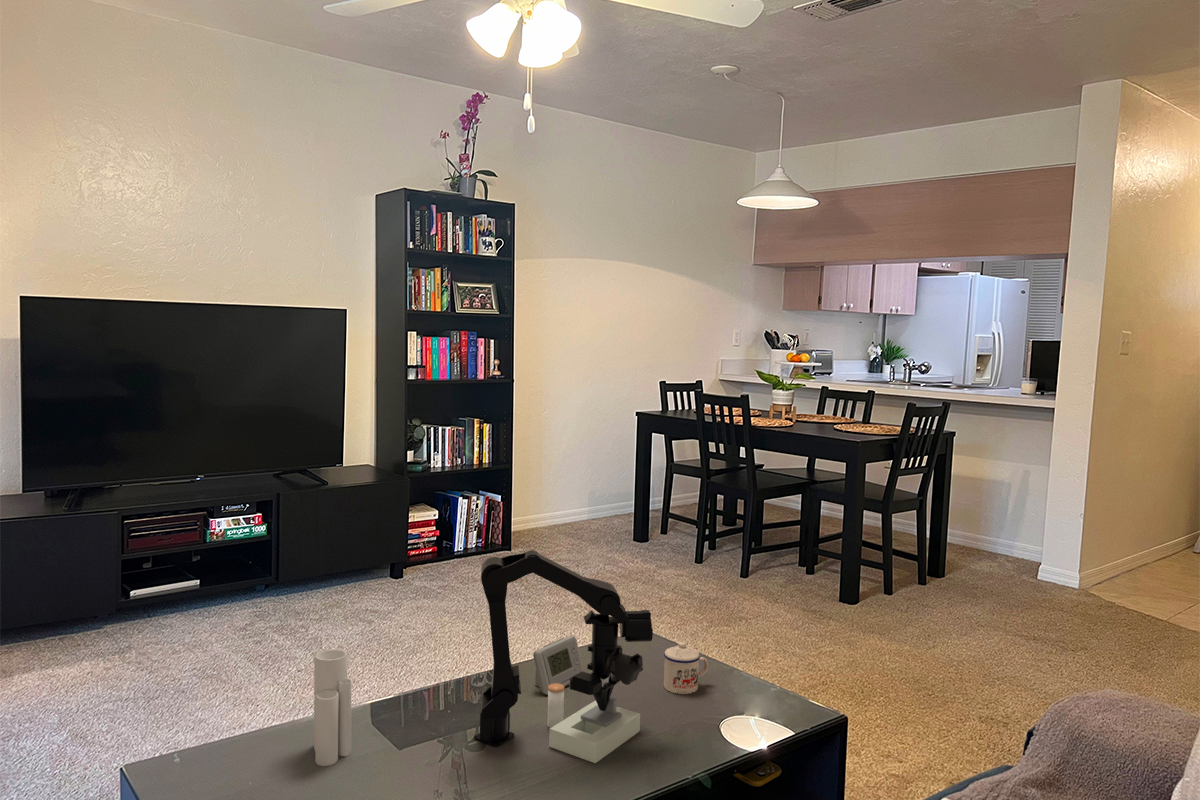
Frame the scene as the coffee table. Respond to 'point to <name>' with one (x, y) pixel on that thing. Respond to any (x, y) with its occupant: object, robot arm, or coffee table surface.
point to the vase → (331, 707)
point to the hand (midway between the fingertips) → (602, 710)
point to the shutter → (603, 714)
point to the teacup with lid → (682, 669)
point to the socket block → (593, 734)
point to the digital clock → (557, 663)
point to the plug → (555, 704)
